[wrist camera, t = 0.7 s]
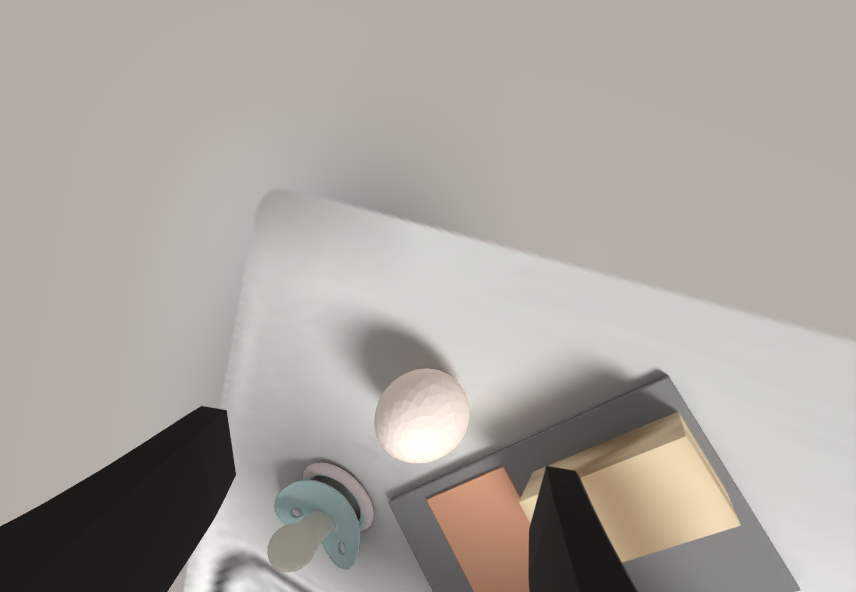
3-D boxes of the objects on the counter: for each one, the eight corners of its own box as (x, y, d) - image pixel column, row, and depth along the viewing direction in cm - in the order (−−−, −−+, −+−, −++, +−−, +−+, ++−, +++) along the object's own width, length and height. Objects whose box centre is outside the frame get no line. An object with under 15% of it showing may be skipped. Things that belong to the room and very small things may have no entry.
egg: (450, 454, 32) (402, 506, 25) (394, 399, 33) (334, 435, 26) (499, 397, 30) (461, 436, 23) (437, 343, 32) (385, 364, 25)
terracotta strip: (592, 627, 28) (591, 629, 28) (506, 650, 30) (505, 652, 30) (503, 465, 30) (503, 466, 30) (427, 498, 32) (426, 500, 32)
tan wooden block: (678, 411, 26) (686, 436, 22) (724, 487, 25) (741, 525, 21) (533, 471, 29) (518, 502, 25) (570, 539, 28) (561, 581, 25)
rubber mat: (796, 582, 25) (800, 590, 24) (476, 665, 32) (473, 672, 31) (668, 375, 26) (668, 377, 26) (392, 498, 34) (388, 502, 33)
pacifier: (314, 442, 36) (287, 506, 38) (256, 473, 31) (226, 548, 32) (392, 498, 34) (361, 564, 35) (345, 543, 28) (310, 621, 29)
